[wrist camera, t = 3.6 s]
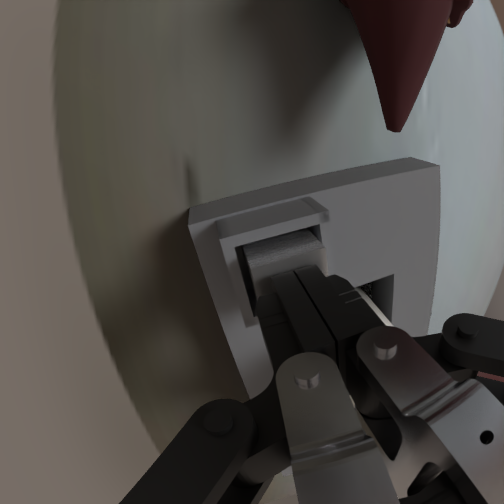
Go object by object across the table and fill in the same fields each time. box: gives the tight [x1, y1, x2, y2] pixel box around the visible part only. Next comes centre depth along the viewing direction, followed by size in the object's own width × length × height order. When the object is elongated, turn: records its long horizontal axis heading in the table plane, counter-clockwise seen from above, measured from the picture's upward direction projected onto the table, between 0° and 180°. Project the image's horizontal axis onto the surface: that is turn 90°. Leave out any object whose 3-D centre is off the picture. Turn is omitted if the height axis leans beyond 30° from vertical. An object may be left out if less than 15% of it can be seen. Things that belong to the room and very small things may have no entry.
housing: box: [188, 157, 440, 476], centre depth 18 cm, size 25×12×4 cm, turn 13°
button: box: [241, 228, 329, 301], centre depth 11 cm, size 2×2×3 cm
